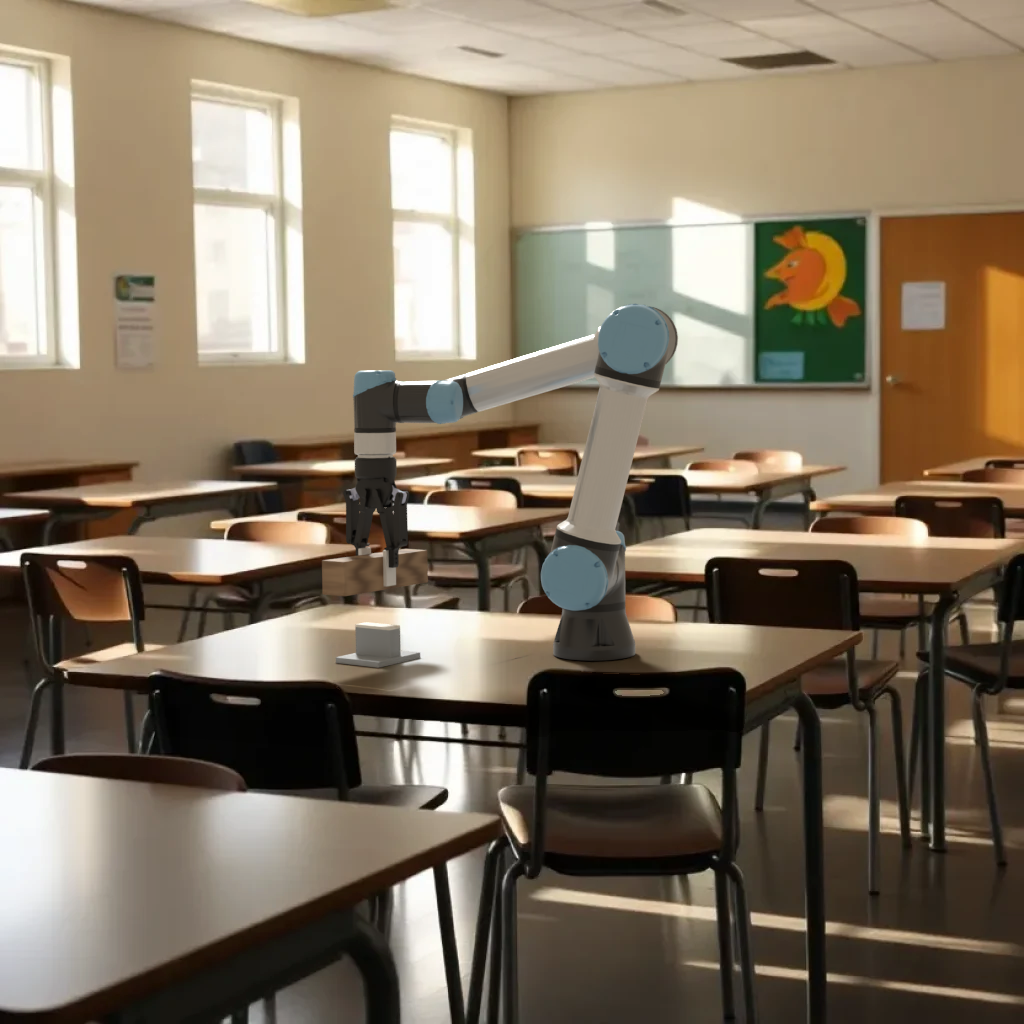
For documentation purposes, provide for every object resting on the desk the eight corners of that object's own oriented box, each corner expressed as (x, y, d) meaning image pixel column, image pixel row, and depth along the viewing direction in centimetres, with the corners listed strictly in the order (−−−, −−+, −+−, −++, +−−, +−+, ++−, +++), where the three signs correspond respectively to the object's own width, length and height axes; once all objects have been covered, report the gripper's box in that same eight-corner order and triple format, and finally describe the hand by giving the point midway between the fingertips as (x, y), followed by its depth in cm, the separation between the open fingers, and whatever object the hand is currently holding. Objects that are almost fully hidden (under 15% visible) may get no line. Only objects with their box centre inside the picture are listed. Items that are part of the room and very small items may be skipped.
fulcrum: (420, 657, 317) (419, 622, 316) (378, 667, 307) (377, 631, 306) (378, 653, 322) (377, 618, 322) (335, 662, 313) (334, 627, 312)
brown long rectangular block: (406, 580, 324) (406, 548, 324) (427, 582, 322) (427, 550, 321) (322, 594, 305) (322, 560, 304) (344, 596, 302) (343, 562, 301)
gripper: (428, 456, 309) (429, 585, 311) (350, 453, 319) (352, 579, 321) (401, 458, 303) (403, 590, 305) (323, 455, 313) (325, 583, 315)
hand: (377, 584), depth 313 cm, fingers closed on brown long rectangular block, 5 cm apart
